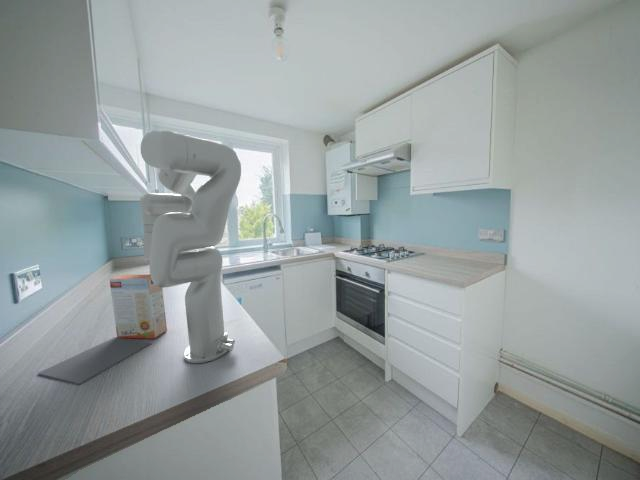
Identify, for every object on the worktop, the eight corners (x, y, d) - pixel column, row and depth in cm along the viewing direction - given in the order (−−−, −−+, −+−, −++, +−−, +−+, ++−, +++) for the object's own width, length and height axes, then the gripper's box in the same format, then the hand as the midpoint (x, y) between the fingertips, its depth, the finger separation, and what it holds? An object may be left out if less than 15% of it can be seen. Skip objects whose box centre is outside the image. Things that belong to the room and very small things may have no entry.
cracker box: (168, 330, 81) (162, 273, 78) (154, 339, 75) (147, 278, 72) (132, 329, 82) (125, 273, 80) (116, 338, 76) (108, 278, 74)
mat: (151, 343, 72) (151, 342, 72) (79, 384, 55) (79, 383, 55) (115, 338, 76) (115, 337, 76) (38, 374, 59) (37, 373, 59)
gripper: (181, 228, 85) (185, 275, 87) (150, 228, 89) (155, 273, 91) (162, 230, 78) (167, 281, 80) (130, 229, 82) (136, 279, 84)
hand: (161, 277), depth 85 cm, fingers closed
